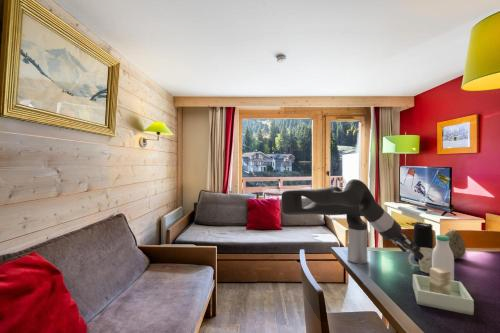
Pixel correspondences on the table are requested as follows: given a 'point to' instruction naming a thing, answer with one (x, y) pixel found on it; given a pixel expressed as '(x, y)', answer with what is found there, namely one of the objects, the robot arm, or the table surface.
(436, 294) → the bin
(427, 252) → the mug
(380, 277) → the table surface
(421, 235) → the portable speaker
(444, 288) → the birch block
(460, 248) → the decorative egg
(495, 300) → the table surface
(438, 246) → the milk bottle
